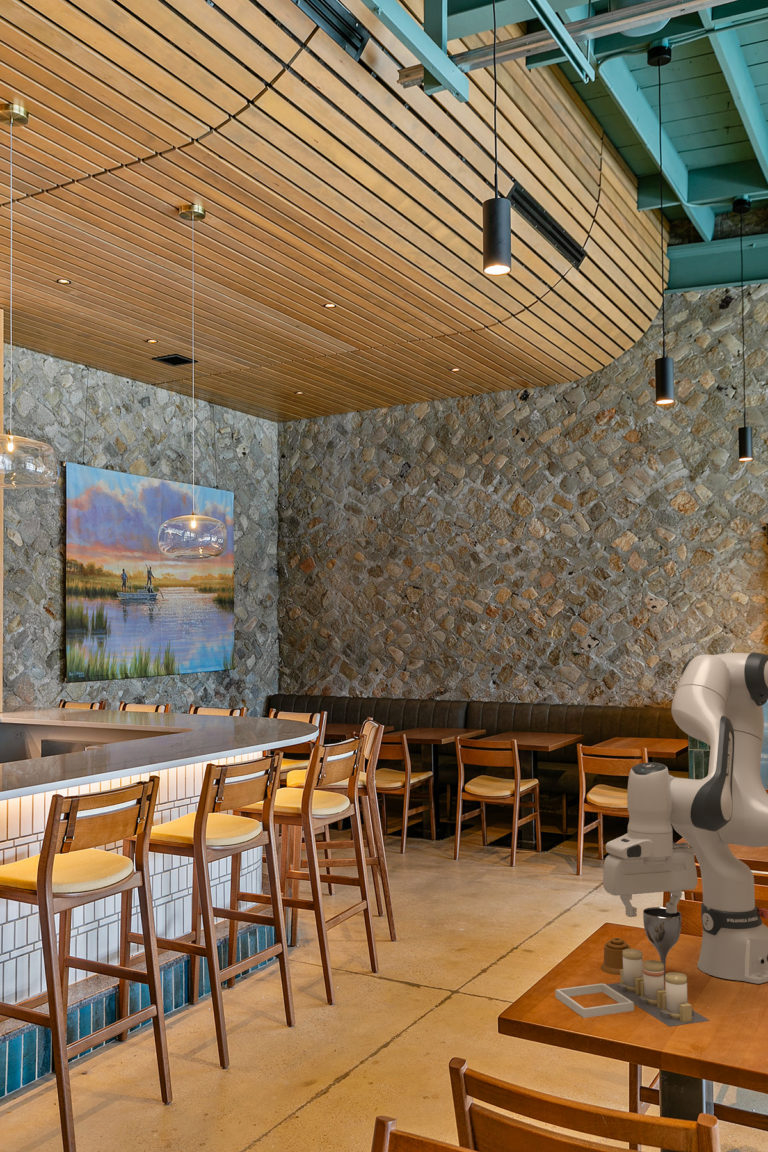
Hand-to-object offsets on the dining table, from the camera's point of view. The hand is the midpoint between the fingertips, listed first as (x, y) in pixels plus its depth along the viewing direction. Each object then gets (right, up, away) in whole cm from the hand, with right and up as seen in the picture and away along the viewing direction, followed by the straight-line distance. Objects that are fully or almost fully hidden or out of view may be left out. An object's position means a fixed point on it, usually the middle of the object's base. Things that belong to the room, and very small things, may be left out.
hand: (651, 914), depth 189 cm
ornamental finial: (-2, -20, +18) cm, 27 cm away
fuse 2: (+3, -17, -8) cm, 19 cm away
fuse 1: (-2, -18, +6) cm, 19 cm away
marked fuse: (0, -17, -1) cm, 17 cm away
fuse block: (0, -19, -1) cm, 19 cm away
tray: (-12, -19, -2) cm, 22 cm away
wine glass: (+7, -20, +13) cm, 25 cm away
